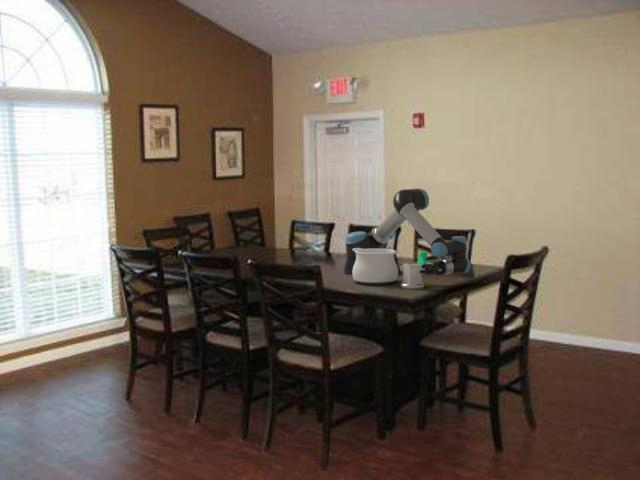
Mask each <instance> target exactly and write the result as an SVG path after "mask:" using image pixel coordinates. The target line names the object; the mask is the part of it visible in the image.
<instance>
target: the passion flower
mask: <svg viewBox="0 0 640 480" xmlns="http://www.w3.org/2000/svg"><path fill="white" fill-rule="evenodd" d="M436 258H437V259H440V260H452V256H445V257H436Z"/></svg>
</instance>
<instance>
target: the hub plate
mask: <svg viewBox="0 0 640 480" xmlns="http://www.w3.org/2000/svg"><path fill="white" fill-rule="evenodd" d="M424 288H425V282H423V281H422V284H415V285H408V284H405V283H403V281H402V282H400V289H403V290H421V289H424Z"/></svg>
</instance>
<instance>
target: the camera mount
mask: <svg viewBox="0 0 640 480" xmlns="http://www.w3.org/2000/svg"><path fill="white" fill-rule="evenodd" d="M427 258H428V252H427V251H420V252H419V254H418V258H417V261H416V262H418V264H432V265H433V264H434V263H431V262H427V261H426V259H427Z"/></svg>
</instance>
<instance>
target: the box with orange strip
mask: <svg viewBox="0 0 640 480" xmlns="http://www.w3.org/2000/svg"><path fill="white" fill-rule="evenodd" d="M402 266H403V271H402V278H403V279H402V282H403V283H405V284H408V285H415V284H422V282H423V274H419V275H413V269H422V264H418V262H417V261H415V262H405V263H402Z"/></svg>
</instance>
